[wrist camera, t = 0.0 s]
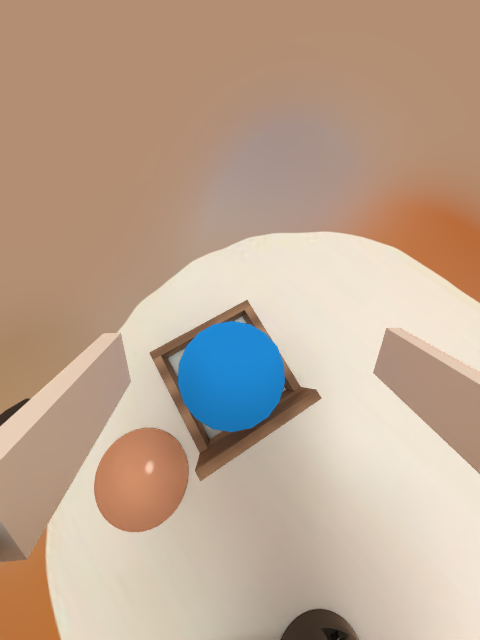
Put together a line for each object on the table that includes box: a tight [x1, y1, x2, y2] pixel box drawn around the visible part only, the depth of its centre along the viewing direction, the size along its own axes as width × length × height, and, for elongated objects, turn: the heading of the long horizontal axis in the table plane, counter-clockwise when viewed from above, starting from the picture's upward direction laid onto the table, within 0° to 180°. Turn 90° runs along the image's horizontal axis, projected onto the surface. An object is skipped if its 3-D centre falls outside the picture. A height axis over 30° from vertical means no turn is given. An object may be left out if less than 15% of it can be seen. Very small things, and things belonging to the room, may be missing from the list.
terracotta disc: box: [94, 428, 188, 532], centre depth 40 cm, size 16×16×1 cm
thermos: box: [178, 321, 285, 432], centre depth 34 cm, size 11×11×25 cm
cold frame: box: [150, 300, 321, 481], centre depth 40 cm, size 21×21×12 cm
